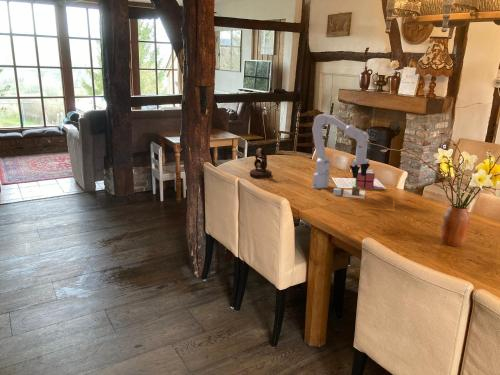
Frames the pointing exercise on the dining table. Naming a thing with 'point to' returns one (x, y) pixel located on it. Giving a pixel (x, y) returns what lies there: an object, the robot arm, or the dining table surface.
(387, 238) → the dining table surface
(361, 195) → the board
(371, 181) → the puzzle cube
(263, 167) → the dark brown figurine
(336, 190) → the gray block
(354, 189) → the walnut block
